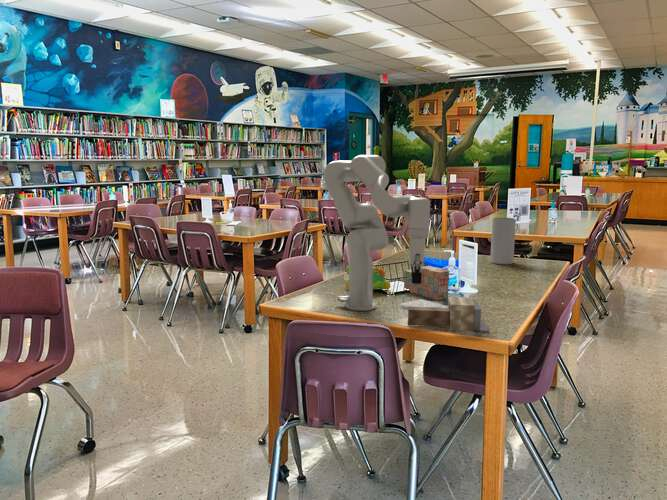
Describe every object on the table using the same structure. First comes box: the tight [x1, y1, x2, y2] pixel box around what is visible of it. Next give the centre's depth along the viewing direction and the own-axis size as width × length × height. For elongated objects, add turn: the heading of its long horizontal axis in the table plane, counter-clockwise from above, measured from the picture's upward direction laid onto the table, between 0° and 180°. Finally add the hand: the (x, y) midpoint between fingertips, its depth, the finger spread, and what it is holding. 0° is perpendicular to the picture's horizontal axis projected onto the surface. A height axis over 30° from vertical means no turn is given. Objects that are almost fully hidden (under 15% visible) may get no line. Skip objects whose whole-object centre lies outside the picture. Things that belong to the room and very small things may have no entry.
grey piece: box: [471, 298, 490, 333], centre depth 207 cm, size 5×14×8 cm, turn 174°
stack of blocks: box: [403, 265, 450, 301], centre depth 253 cm, size 21×6×12 cm, turn 35°
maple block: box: [447, 296, 475, 331], centre depth 208 cm, size 8×11×9 cm
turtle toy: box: [345, 264, 391, 291], centre depth 263 cm, size 17×23×12 cm
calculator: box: [399, 298, 448, 310], centre depth 230 cm, size 13×20×2 cm, turn 40°
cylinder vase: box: [490, 216, 517, 266], centre depth 327 cm, size 12×12×25 cm
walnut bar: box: [407, 306, 450, 328], centre depth 209 cm, size 18×5×6 cm, turn 84°
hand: (416, 280), depth 208 cm, fingers open, 9 cm apart
